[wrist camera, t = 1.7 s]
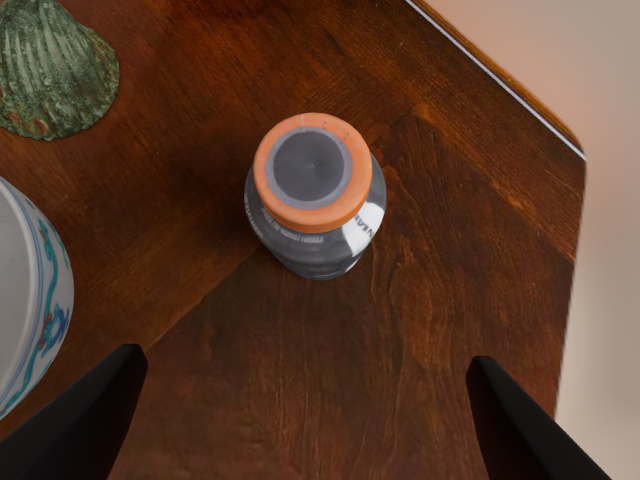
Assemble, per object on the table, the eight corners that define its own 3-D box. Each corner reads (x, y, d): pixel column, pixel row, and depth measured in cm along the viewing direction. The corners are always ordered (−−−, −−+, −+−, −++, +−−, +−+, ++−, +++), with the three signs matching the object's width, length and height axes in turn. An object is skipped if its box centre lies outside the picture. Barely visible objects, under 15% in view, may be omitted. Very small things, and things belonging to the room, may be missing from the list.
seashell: (-103, 99, 20) (-52, -44, 22) (-35, 133, 24) (3, 11, 26) (75, 119, 20) (110, -22, 22) (112, 150, 24) (139, 28, 26)
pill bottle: (383, 246, 22) (442, 186, 11) (307, 299, 21) (288, 295, 10) (329, 174, 23) (333, 52, 12) (256, 224, 22) (187, 145, 11)
